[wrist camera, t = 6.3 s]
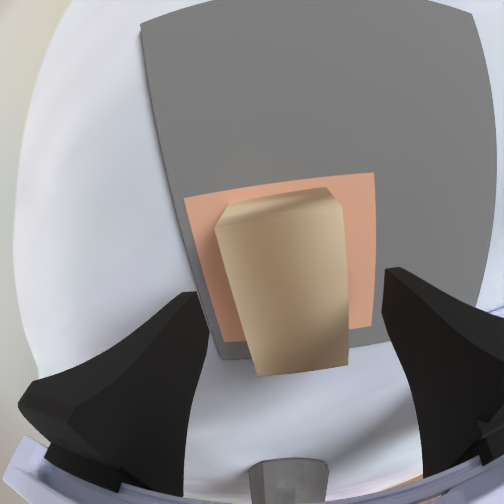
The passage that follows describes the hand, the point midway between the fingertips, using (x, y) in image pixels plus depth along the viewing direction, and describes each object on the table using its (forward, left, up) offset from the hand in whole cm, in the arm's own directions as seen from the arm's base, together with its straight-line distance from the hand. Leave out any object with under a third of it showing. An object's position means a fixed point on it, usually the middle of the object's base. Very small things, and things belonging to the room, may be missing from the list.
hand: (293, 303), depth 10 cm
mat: (+4, -3, -3) cm, 6 cm away
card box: (0, 0, -3) cm, 3 cm away
